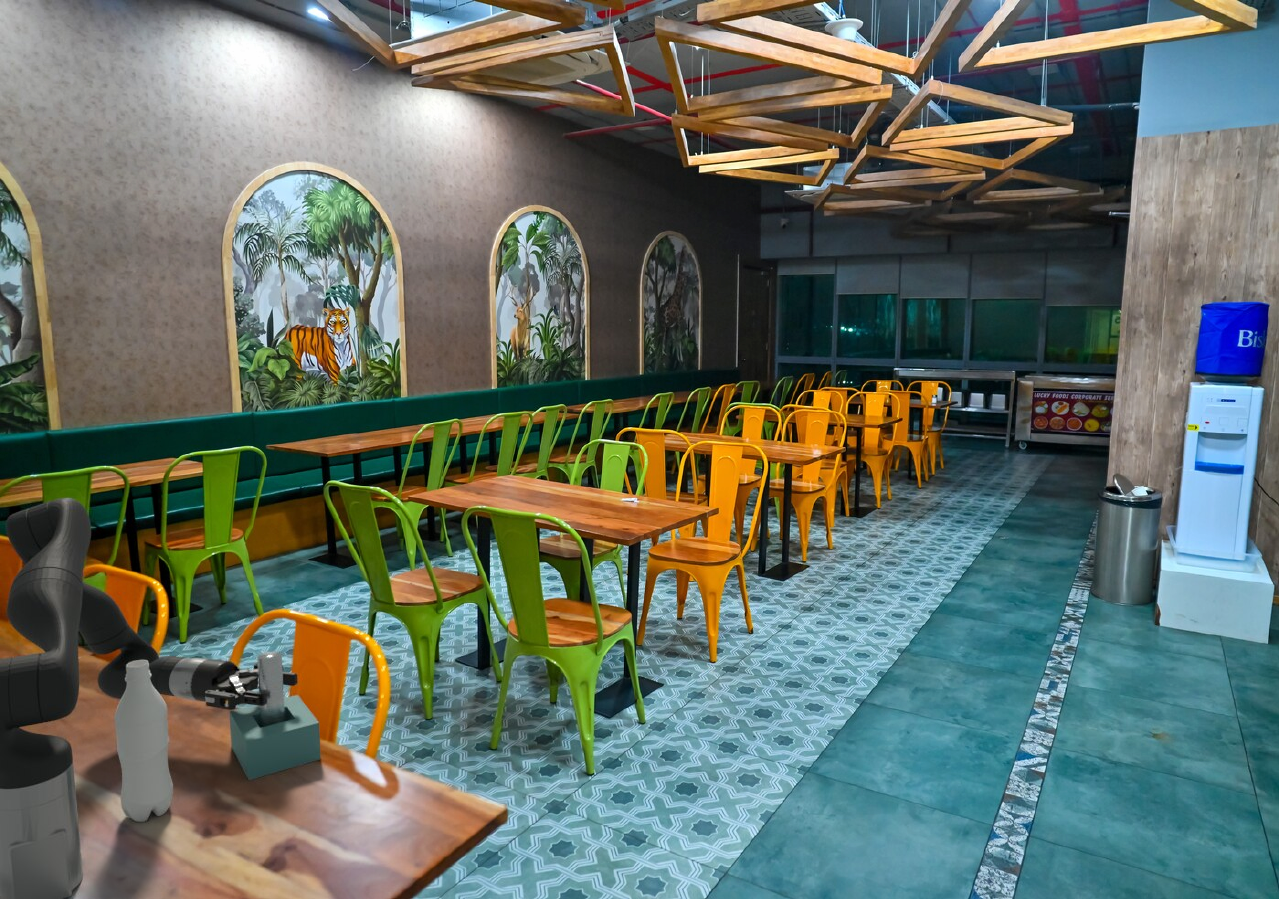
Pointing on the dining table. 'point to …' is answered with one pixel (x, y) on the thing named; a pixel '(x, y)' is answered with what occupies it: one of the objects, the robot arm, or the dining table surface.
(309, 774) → the dining table surface
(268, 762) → the well block
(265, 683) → the steel post
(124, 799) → the water bottle
